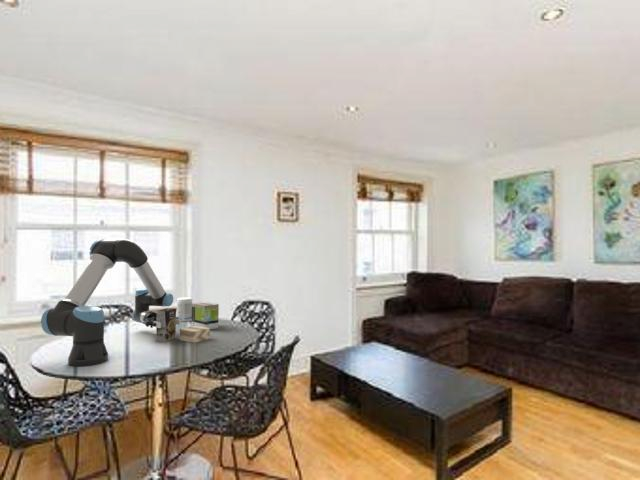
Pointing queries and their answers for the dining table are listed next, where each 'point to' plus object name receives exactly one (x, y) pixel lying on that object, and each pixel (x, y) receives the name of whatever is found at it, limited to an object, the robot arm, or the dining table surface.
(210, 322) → the tea box
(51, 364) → the dining table surface
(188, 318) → the supplement tub
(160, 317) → the coffee box
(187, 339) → the birch block
